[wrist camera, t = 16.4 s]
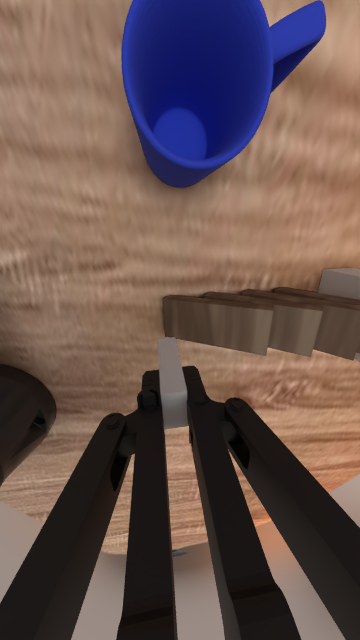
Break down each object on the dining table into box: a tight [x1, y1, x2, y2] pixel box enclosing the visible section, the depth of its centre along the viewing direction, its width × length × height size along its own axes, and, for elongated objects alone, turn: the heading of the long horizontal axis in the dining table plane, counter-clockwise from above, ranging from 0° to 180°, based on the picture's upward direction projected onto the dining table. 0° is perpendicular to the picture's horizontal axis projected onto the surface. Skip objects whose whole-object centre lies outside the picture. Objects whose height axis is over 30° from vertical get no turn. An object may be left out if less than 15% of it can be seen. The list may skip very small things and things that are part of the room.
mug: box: [122, 0, 326, 187], centre depth 15 cm, size 8×12×10 cm
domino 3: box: [242, 289, 360, 360], centre depth 23 cm, size 2×5×12 cm
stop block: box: [318, 268, 360, 361], centre depth 24 cm, size 4×9×9 cm, turn 2°
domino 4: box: [274, 287, 360, 354], centre depth 23 cm, size 2×5×12 cm
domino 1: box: [163, 295, 274, 356], centre depth 23 cm, size 2×5×12 cm
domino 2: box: [204, 292, 323, 357], centre depth 23 cm, size 2×5×12 cm
